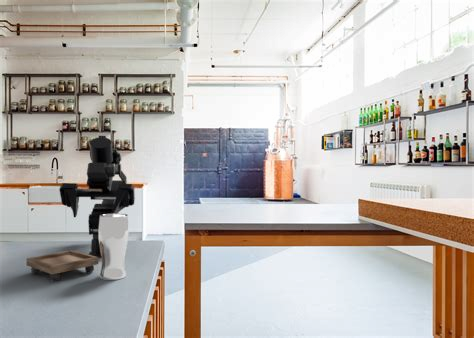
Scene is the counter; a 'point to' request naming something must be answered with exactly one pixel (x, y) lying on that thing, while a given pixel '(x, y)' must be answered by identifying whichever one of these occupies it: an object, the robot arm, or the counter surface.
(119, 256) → the beer glass
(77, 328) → the counter surface
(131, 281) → the counter surface
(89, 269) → the walnut dolly
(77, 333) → the counter surface
